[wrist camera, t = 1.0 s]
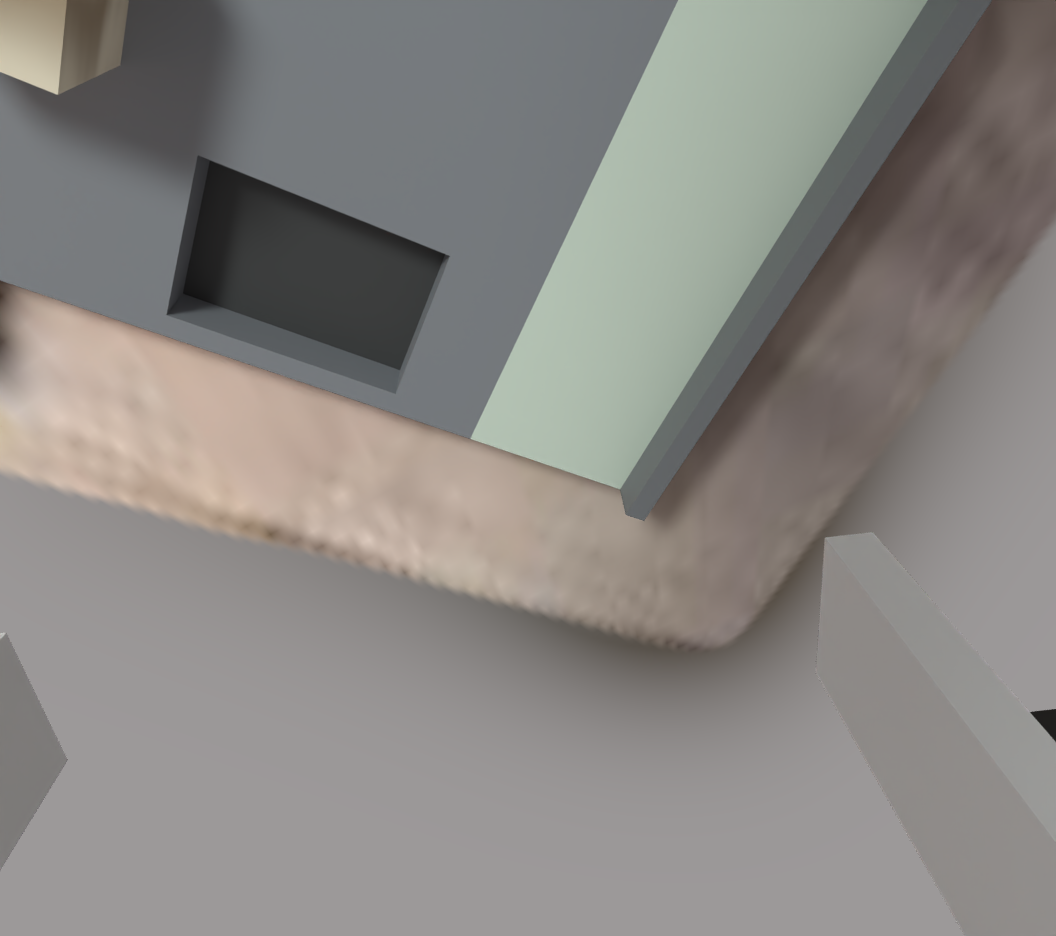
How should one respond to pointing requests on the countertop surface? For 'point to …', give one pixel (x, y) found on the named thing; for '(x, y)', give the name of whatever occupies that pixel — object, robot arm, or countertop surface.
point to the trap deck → (472, 197)
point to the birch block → (61, 40)
